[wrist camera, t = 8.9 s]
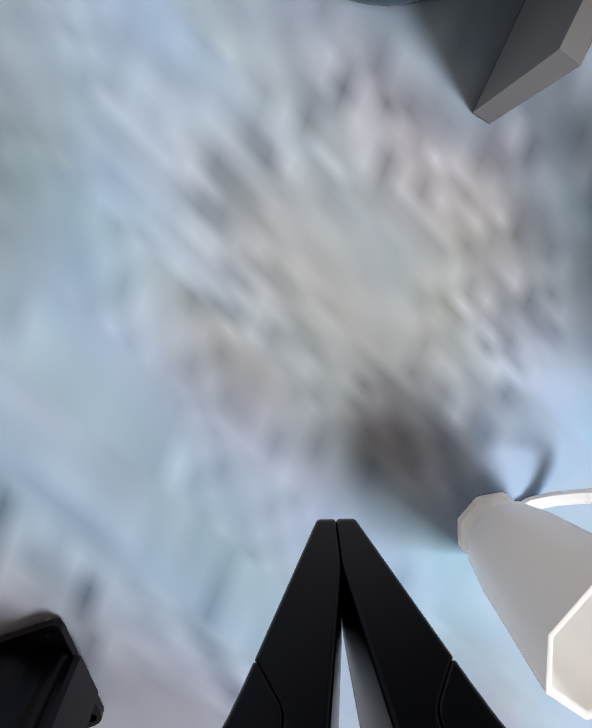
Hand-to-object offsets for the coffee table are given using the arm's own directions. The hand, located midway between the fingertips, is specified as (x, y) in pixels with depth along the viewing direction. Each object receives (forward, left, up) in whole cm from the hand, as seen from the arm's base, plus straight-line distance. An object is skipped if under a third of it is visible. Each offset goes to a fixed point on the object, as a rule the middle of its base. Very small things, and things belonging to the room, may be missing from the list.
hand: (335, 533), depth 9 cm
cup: (+11, -11, -11) cm, 19 cm away
